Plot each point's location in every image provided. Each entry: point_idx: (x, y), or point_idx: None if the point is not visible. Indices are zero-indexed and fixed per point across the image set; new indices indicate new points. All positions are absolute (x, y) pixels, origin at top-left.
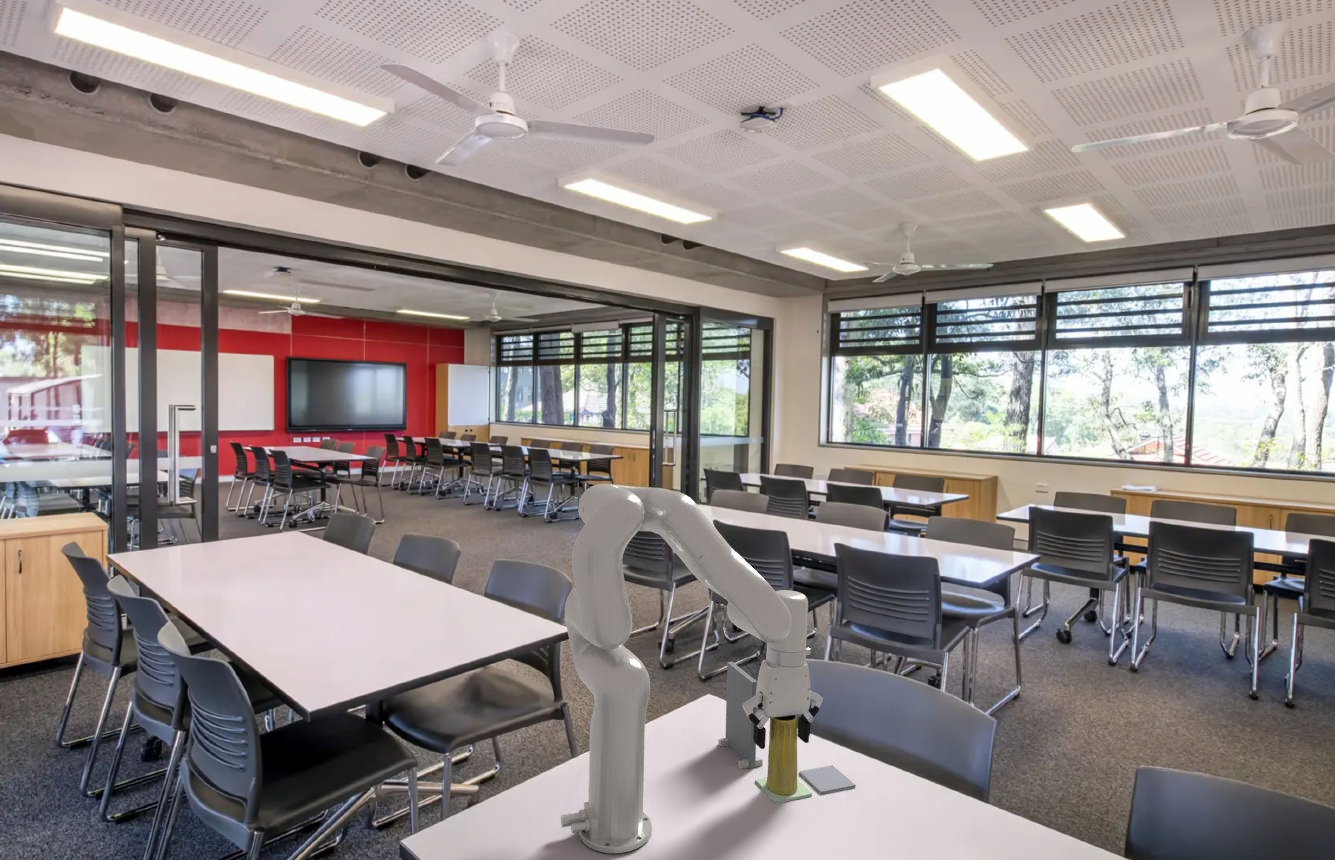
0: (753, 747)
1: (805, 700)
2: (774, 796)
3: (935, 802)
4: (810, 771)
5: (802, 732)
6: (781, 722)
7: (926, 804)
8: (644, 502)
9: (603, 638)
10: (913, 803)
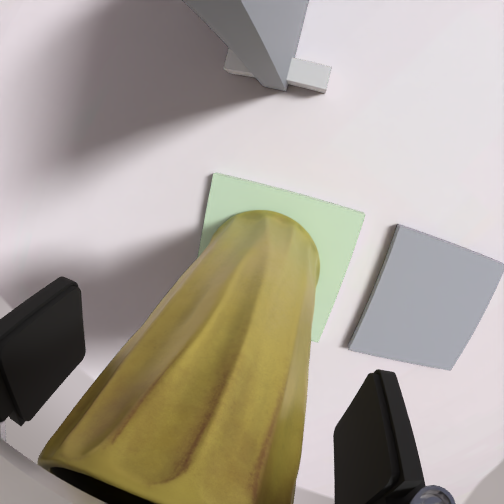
0: (263, 71)
1: None
2: None
3: (479, 447)
4: (429, 251)
5: (351, 445)
6: None
7: (465, 448)
8: None
9: None
10: (456, 441)
